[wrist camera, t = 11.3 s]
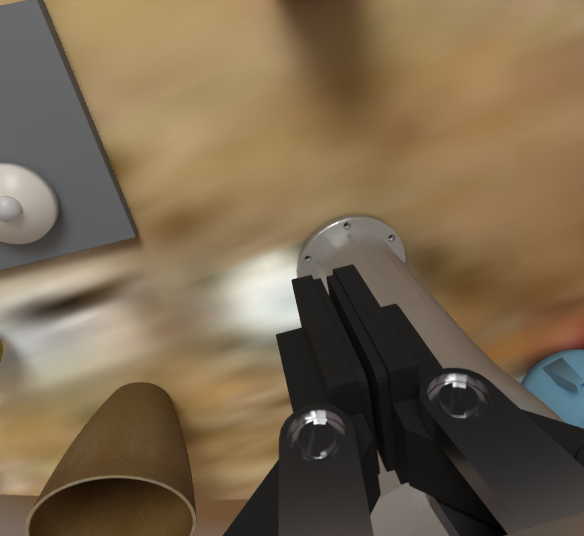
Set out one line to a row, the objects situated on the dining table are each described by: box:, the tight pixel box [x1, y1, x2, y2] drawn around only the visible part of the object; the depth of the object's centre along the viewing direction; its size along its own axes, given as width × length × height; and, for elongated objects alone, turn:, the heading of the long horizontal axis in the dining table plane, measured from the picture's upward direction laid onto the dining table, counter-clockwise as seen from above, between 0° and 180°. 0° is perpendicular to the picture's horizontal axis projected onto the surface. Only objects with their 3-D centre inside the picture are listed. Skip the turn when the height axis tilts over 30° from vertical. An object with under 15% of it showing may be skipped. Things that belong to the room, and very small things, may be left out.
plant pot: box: [25, 382, 196, 536], centre depth 46 cm, size 15×15×16 cm
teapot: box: [521, 349, 584, 428], centre depth 60 cm, size 15×15×11 cm
